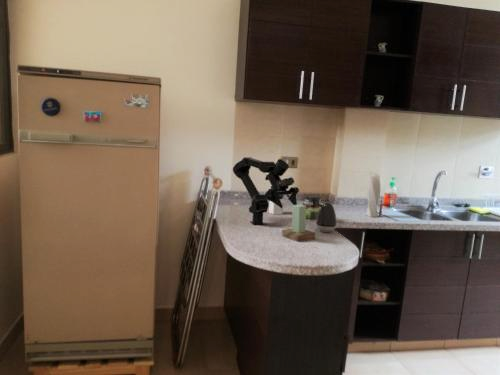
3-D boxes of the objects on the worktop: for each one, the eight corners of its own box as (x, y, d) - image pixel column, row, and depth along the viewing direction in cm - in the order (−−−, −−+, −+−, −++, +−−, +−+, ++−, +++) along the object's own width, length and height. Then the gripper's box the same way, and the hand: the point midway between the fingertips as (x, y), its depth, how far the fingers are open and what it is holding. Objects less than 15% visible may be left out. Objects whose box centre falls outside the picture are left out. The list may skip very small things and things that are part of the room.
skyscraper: (371, 218, 239) (374, 173, 235) (362, 215, 246) (366, 171, 242) (382, 217, 242) (385, 173, 238) (373, 215, 249) (377, 171, 245)
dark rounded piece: (314, 228, 205) (315, 200, 202) (333, 229, 204) (335, 201, 202) (316, 233, 194) (318, 203, 192) (337, 234, 194) (339, 204, 192)
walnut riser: (281, 237, 186) (282, 230, 186) (298, 234, 193) (299, 227, 192) (297, 242, 177) (298, 235, 177) (314, 239, 184) (315, 232, 184)
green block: (291, 230, 185) (292, 205, 183) (298, 229, 187) (299, 204, 185) (298, 233, 181) (299, 207, 179) (305, 231, 184) (306, 205, 182)
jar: (281, 211, 246) (282, 193, 244) (284, 214, 238) (285, 195, 236) (267, 211, 245) (268, 192, 244) (269, 214, 237) (270, 194, 235)
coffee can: (313, 222, 219) (314, 197, 217) (298, 219, 226) (299, 195, 224) (323, 219, 227) (324, 196, 225) (308, 216, 234) (309, 193, 232)
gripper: (269, 172, 186) (283, 198, 178) (297, 171, 197) (312, 196, 189) (258, 186, 193) (271, 212, 186) (286, 184, 204) (300, 209, 197)
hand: (289, 207), depth 189 cm, fingers open, 9 cm apart
